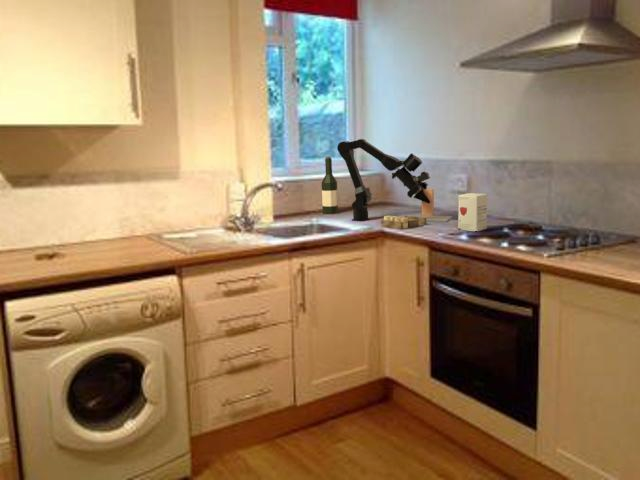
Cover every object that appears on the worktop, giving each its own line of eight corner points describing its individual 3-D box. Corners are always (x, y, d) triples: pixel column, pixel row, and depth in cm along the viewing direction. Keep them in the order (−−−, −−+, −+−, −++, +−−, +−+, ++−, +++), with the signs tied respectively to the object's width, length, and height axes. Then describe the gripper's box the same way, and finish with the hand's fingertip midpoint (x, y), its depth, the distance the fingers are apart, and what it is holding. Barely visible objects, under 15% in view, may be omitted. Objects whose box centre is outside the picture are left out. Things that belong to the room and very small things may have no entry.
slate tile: (403, 223, 282) (403, 220, 282) (410, 218, 294) (410, 215, 294) (446, 224, 274) (446, 220, 274) (452, 219, 287) (452, 216, 286)
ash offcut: (384, 226, 269) (384, 216, 268) (389, 225, 271) (388, 215, 270) (392, 227, 265) (392, 217, 264) (397, 226, 267) (397, 216, 266)
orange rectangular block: (421, 215, 283) (421, 189, 281) (423, 214, 286) (423, 189, 284) (432, 215, 281) (432, 190, 279) (433, 214, 284) (433, 189, 282)
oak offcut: (394, 227, 264) (394, 217, 263) (399, 226, 266) (399, 216, 265) (403, 228, 260) (403, 218, 259) (408, 228, 262) (407, 217, 261)
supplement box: (457, 230, 258) (457, 195, 255) (468, 227, 264) (468, 192, 261) (476, 231, 251) (476, 195, 249) (487, 228, 258) (487, 193, 255)
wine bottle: (321, 212, 330) (319, 157, 325) (337, 211, 331) (335, 156, 325) (323, 214, 322) (321, 157, 316) (339, 213, 323) (337, 156, 317)
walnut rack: (381, 229, 268) (381, 220, 268) (406, 224, 278) (406, 215, 277) (401, 231, 259) (401, 222, 258) (426, 226, 269) (426, 217, 268)
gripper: (414, 167, 273) (438, 192, 270) (423, 164, 290) (446, 188, 287) (397, 185, 277) (421, 209, 275) (407, 181, 294) (430, 204, 292)
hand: (430, 202), depth 282 cm, fingers closed on orange rectangular block, 3 cm apart
